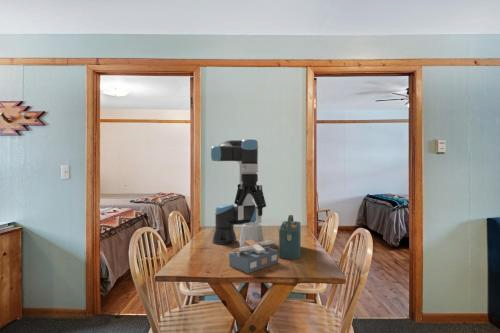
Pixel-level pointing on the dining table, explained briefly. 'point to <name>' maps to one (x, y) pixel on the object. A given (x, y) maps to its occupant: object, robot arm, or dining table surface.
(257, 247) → the rocker mid
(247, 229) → the vase
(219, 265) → the dining table surface
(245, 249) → the rocker near
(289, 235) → the radio
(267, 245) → the rocker far
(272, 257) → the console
